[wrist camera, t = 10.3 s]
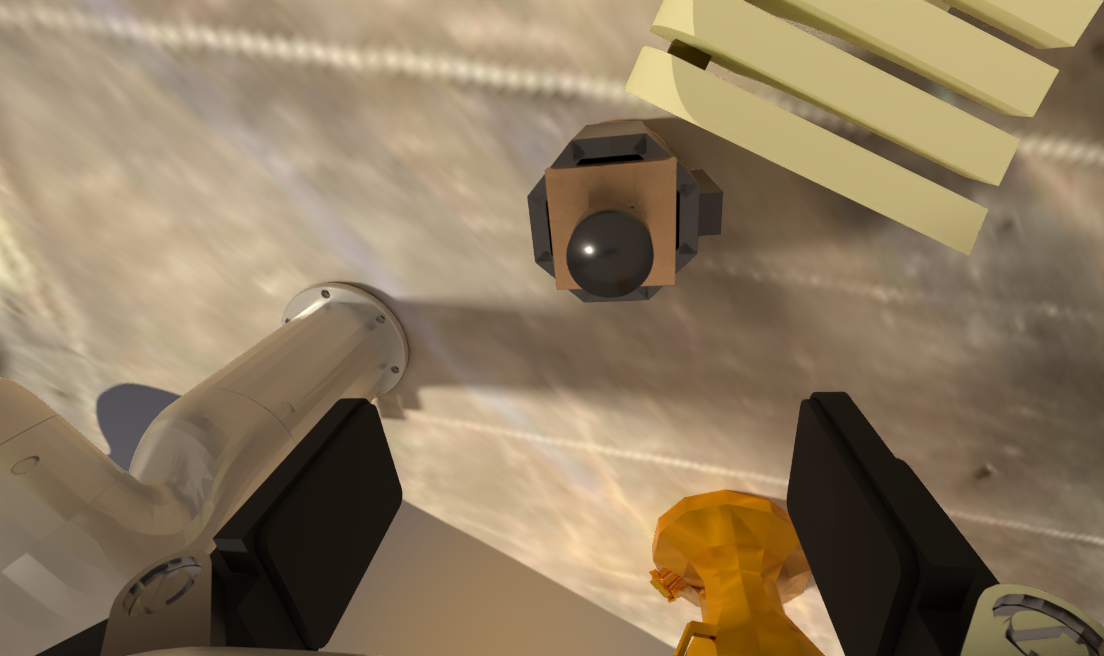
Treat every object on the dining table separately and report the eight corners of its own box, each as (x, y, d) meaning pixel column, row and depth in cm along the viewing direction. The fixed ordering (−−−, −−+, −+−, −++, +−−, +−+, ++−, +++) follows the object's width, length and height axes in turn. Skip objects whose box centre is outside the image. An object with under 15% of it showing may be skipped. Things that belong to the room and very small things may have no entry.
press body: (694, 240, 39) (723, 305, 27) (561, 248, 41) (536, 312, 29) (698, 111, 35) (734, 124, 23) (549, 126, 37) (515, 144, 25)
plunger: (659, 232, 36) (680, 318, 23) (575, 237, 38) (547, 322, 24) (659, 142, 34) (682, 180, 20) (569, 150, 35) (533, 192, 21)
